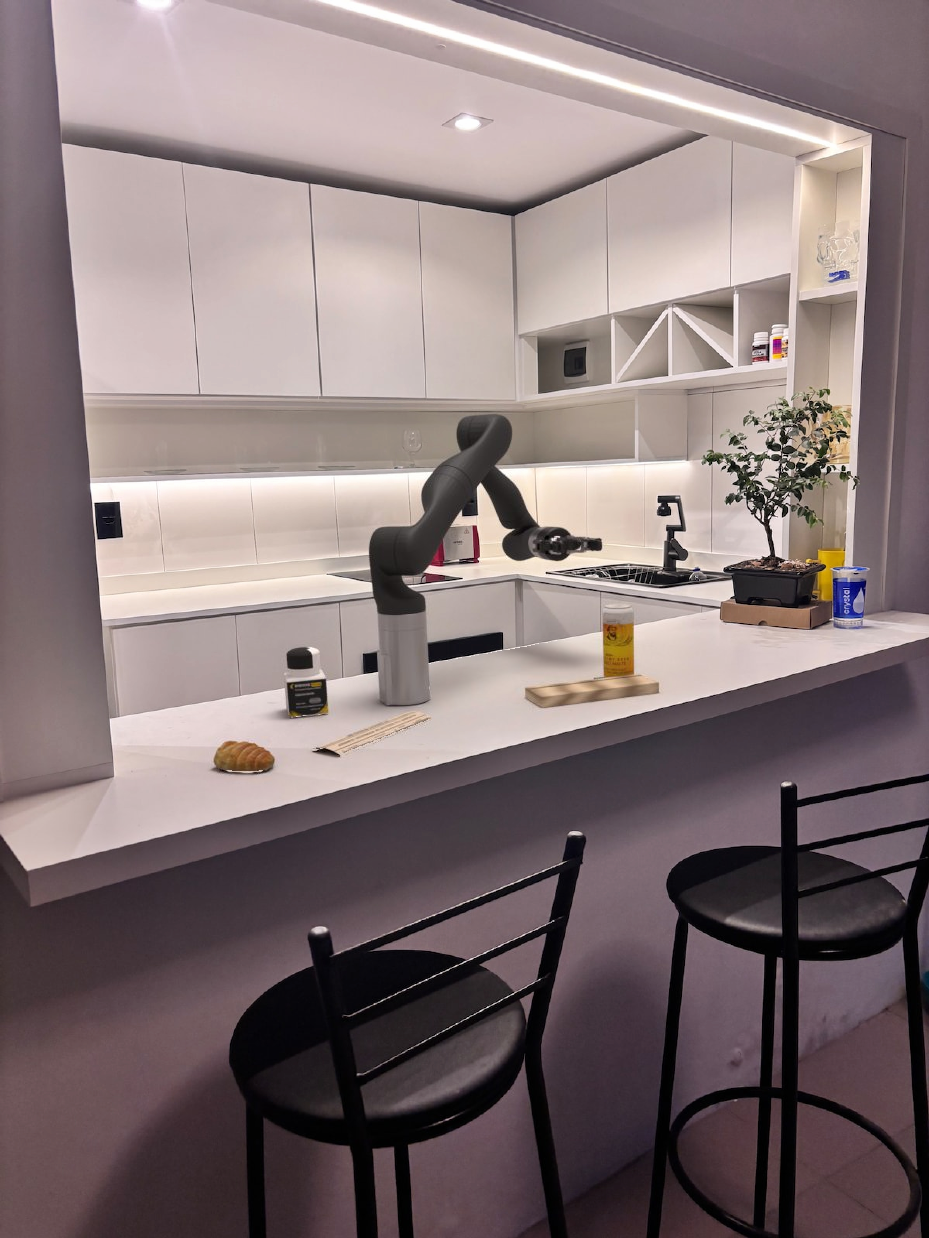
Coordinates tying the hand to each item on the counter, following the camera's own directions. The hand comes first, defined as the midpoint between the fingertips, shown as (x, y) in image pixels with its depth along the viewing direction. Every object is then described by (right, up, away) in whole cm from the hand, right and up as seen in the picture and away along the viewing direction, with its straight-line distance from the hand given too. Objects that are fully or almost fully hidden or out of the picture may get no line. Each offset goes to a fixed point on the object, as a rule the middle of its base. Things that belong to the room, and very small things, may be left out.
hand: (581, 546), depth 184 cm
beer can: (+7, -27, -5) cm, 29 cm away
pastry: (-58, -38, -49) cm, 84 cm away
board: (0, -29, -16) cm, 33 cm away
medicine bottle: (-53, -32, -19) cm, 65 cm away
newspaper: (-40, -35, -35) cm, 63 cm away
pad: (+7, -27, -5) cm, 29 cm away
